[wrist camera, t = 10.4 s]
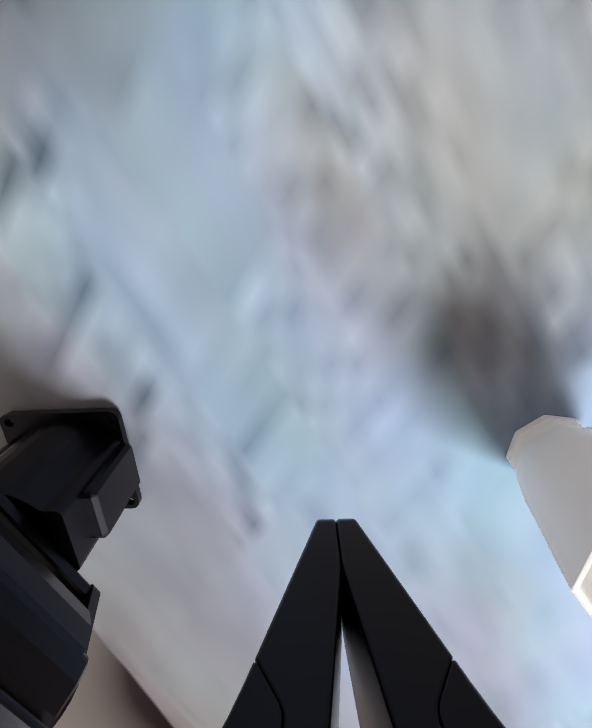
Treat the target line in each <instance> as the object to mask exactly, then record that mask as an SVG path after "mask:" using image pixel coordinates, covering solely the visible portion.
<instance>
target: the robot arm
mask: <svg viewBox="0 0 592 728" xmlns="http://www.w3.org/2000/svg"><path fill="white" fill-rule="evenodd" d="M108 416H111V417H113V419H114V420H111V419H109V417H108ZM10 420H12V421H13V423H12V422H11V421H10ZM0 424H1V427H2V430H3V432H4V435H5V438H6V440H7V443H8V444H7V445H5V446H4V447H3V448H2V449H0V728H53V727H54V725H55V724H56V723H57V721H58V720H59V719H60V717H61V716H62V715H63V713H64V711H65V710H66V708H67V706H68V705H69V703H70V701H71V700H72V698H73V695H74V693H75V691H76V689H77V687H78V685H79V681H80V679H81V677H82V676H83V673H84V672H85V670H86V667H87V663H88V656H87V655H86V654H87V650H88V645H89V641H90V636H91V632H92V628H93V623H94V619H95V615H96V610H97V606H98V601H99V597H100V591H99V590H98V589H97V588H96V587H95V586H94V585H93V584H92V585H90V584H89V583H88V582H87V581H86V580H85V579H84V578H83V577H82V576H81V575H80V574H79V573H78V572H77V571H78V570H79V569H80V568H81V566H82V565H83V563H84V561H85V560H86V558H87V556H88V555H89V553H90V552H91V550H92V548H93V547H94V545H95V544H96V542H97V540H98V539H99V538H105V537H106V536H107V535H108V534H109V533H110V532H111V530H112V528H113V527H114V525H115V523H116V522H117V520H118V518H119V517H120V515H121V513H122V512H123V510H124V508H136V507H137V506H138V505H139V503H140V501H141V499H142V497H141V493H140V488H139V483H140V479H139V475H138V471H137V466H136V462H135V458H134V454H133V450H132V447H131V445H130V444H129V443H128V440H127V436H126V432H125V427H124V423H123V419H122V415H121V413H120V412H119V411H118V410H116V409H114V408H93V409H65V410H37V411H11V412H8V413H6V414H5V415H3V416H2V417H1V418H0ZM130 498H132V499H134V500H131V499H130ZM342 630H343V637H344V643H345V649H346V654H347V660H348V665H349V671H350V676H351V681H352V687H353V692H354V698H355V703H356V709H357V714H358V720H359V725H360V728H506V727H505V726H504V725H503V724H502V722H501V721H500V720H499V719H498V718H497V716H496V715H495V714H494V712H493V711H492V710H491V708H490V707H489V706H488V704H487V703H486V702H485V700H484V699H483V698H482V696H481V695H480V694H479V692H478V691H477V690H476V688H475V687H474V686H473V684H472V683H471V682H470V680H469V679H468V677H467V676H466V675H465V673H464V672H463V670H462V669H461V667H460V666H459V665H458V663H457V662H456V661H455V660H454V661H452V660H453V657H452V655H451V654H450V652H449V651H448V649H447V648H446V647H445V645H444V644H443V642H442V641H441V640H440V638H439V637H438V635H437V634H436V633H435V631H434V630H433V628H432V627H431V625H430V624H429V623H428V621H427V620H426V618H425V617H424V616H423V614H422V613H421V611H420V610H419V609H418V607H417V606H416V604H415V603H414V602H413V600H412V599H411V597H410V596H409V594H408V593H407V592H406V590H405V589H404V587H403V586H402V585H401V583H400V582H399V580H398V579H397V578H396V576H395V575H394V573H393V572H392V571H391V569H390V568H389V566H388V565H387V563H386V562H385V561H384V559H383V558H382V556H381V555H380V554H379V552H378V551H377V549H376V548H375V547H374V545H373V544H372V542H371V541H370V540H369V538H368V537H367V535H366V534H365V533H364V531H363V530H362V528H361V527H360V525H359V524H358V523H357V521H356V520H354V519H338V520H337V521H335V520H334V519H320V520H318V521H317V522H316V523H315V526H314V528H313V530H312V532H311V535H310V537H309V539H308V541H307V544H306V546H305V548H304V550H303V553H302V555H301V557H300V559H299V562H298V564H297V566H296V568H295V571H294V573H293V575H292V577H291V580H290V582H289V584H288V586H287V589H286V591H285V593H284V595H283V598H282V600H281V602H280V604H279V607H278V609H277V611H276V613H275V616H274V618H273V620H272V622H271V625H270V627H269V629H268V631H267V634H266V636H265V638H264V640H263V643H262V645H261V647H260V649H259V652H258V654H257V656H256V658H255V662H256V663H253V664H252V667H251V669H250V671H249V673H248V676H247V678H246V680H245V682H244V685H243V687H242V689H241V691H240V693H239V695H238V697H237V699H236V701H235V703H234V705H233V708H232V710H231V712H230V714H229V716H228V718H227V720H226V721H225V723H224V725H223V727H222V728H339V700H340V673H341V645H342Z"/></svg>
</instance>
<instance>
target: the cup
mask: <svg viewBox="0 0 592 728" xmlns="http://www.w3.org/2000/svg"><path fill="white" fill-rule="evenodd" d="M506 458H507V460H508V461H509V462H510V464H511V465H512V466H513V468H514V469H515V474H516V476H517V479H518V482H519V485H520V488H521V491H522V494H523V496H524V499H525V501H526V503H527V505H528V507H529V509H530V511H531V513H532V515H533V517H534V518H535V520H536V522H537V524H538V526H539V528H540V530H541V532H542V534H543V536H544V537H545V540H546V542H547V544H548V546H549V548H550V550H551V552H552V554H553V556H554V558H555V560H556V562H557V564H558V566H559V568H560V570H561V572H562V574H563V575H564V577H565V579H566V581H567V583H568V585H569V587H570V589H571V591H572V592H573V593H574V595H575V596H576V597H577V599H578V600H579V601H580V603H581V604H582V605H583V606H584V608H585V609H586V610H587V612H588V613H589V614H590V616H591V617H592V429H591V428H583V427H582V426H581V424H580V422H579V421H578V420H576V419H575V418H570V417H561V416H551V415H543V416H541V417H539V418H537V419H536V420H534V421H532V422H530V423H529V424H527V425H525V426H524V427H522V428H520V429H518V430H517V431H515V433H514V436H513V438H512V441H511V444H510V447H509V449H508V452H507V455H506Z"/></svg>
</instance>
